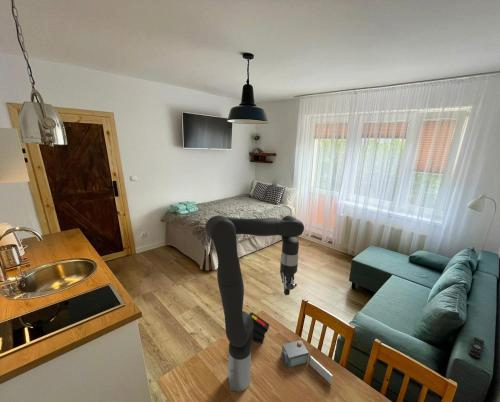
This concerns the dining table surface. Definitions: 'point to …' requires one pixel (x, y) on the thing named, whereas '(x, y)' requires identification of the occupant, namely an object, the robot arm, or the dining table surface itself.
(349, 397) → the dining table surface
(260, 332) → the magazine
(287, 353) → the camera body
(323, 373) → the side door
